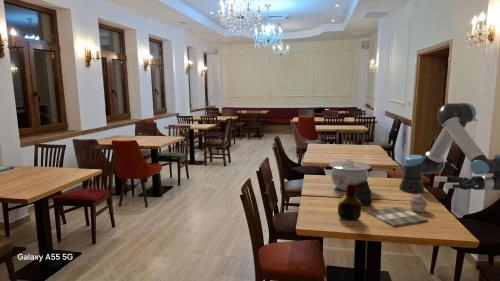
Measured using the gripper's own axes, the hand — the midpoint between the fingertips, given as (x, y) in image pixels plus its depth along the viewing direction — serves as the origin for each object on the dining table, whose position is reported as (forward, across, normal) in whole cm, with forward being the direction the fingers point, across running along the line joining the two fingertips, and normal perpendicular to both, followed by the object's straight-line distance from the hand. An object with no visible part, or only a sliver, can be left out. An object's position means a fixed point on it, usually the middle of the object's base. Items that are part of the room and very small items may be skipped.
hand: (439, 182), depth 182 cm
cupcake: (+10, +1, -18) cm, 20 cm away
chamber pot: (+42, +39, -16) cm, 60 cm away
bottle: (+51, -16, -18) cm, 56 cm away
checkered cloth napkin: (+25, -10, -17) cm, 32 cm away
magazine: (+41, +8, -17) cm, 45 cm away
